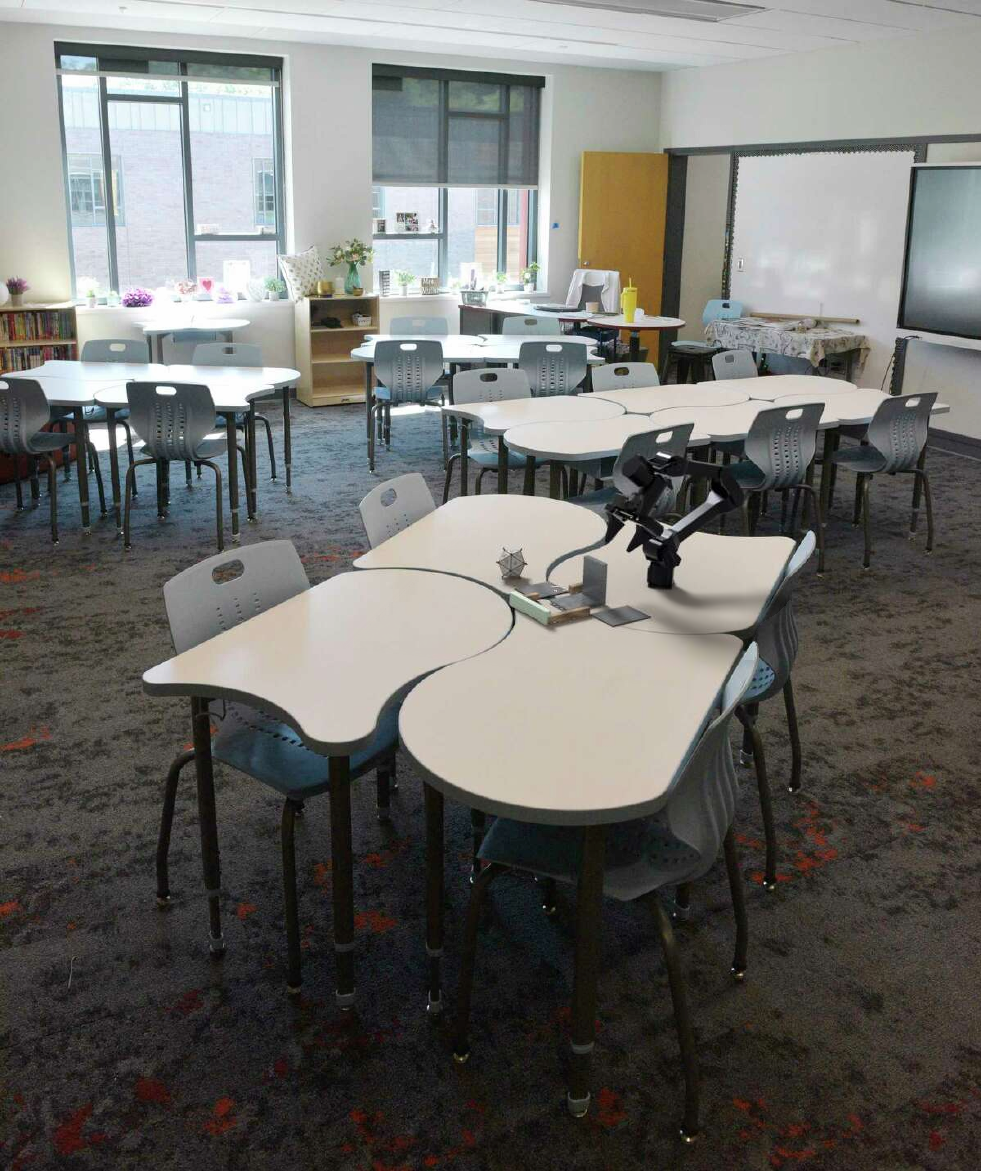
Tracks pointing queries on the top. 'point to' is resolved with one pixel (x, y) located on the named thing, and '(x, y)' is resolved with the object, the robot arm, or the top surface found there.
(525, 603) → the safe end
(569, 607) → the bookend
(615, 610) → the trap lane
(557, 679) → the top surface
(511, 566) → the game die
